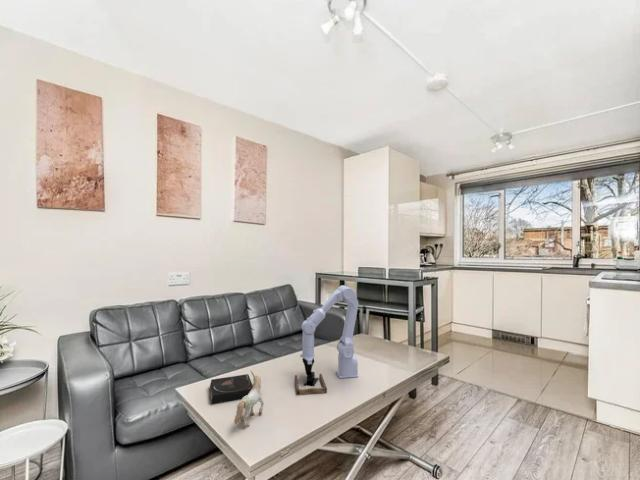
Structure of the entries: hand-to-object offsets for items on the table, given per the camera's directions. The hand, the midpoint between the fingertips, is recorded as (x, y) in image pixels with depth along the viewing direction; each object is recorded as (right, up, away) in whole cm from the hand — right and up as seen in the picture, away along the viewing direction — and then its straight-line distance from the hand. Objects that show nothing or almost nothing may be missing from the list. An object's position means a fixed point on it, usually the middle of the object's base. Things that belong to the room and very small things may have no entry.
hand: (308, 374), depth 145 cm
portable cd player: (-33, -2, -14) cm, 36 cm away
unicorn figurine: (-22, -1, -34) cm, 40 cm away
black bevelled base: (+1, -3, -4) cm, 5 cm away
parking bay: (+1, -2, -8) cm, 8 cm away
